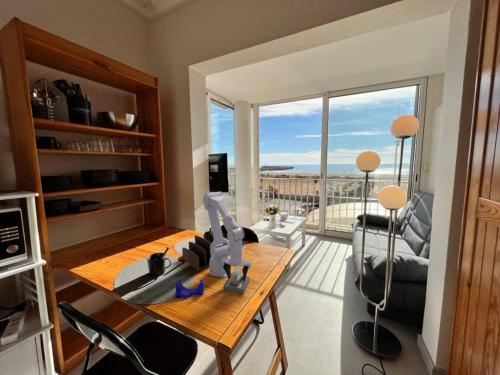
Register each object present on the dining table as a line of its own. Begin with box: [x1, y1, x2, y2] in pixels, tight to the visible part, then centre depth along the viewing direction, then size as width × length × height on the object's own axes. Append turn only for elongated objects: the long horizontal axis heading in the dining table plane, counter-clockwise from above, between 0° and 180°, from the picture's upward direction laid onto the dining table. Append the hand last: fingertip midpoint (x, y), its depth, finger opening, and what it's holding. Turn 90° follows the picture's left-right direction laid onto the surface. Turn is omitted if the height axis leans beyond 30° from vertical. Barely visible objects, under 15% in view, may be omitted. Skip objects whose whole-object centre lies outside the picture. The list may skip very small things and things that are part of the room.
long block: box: [231, 267, 243, 287], centre depth 100 cm, size 3×6×7 cm, turn 165°
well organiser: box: [222, 275, 251, 294], centre depth 101 cm, size 10×10×2 cm
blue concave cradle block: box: [174, 279, 205, 300], centre depth 94 cm, size 12×4×6 cm, turn 94°
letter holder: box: [181, 234, 212, 271], centre depth 124 cm, size 10×20×14 cm, turn 44°
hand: (236, 279), depth 100 cm, fingers open, 7 cm apart
